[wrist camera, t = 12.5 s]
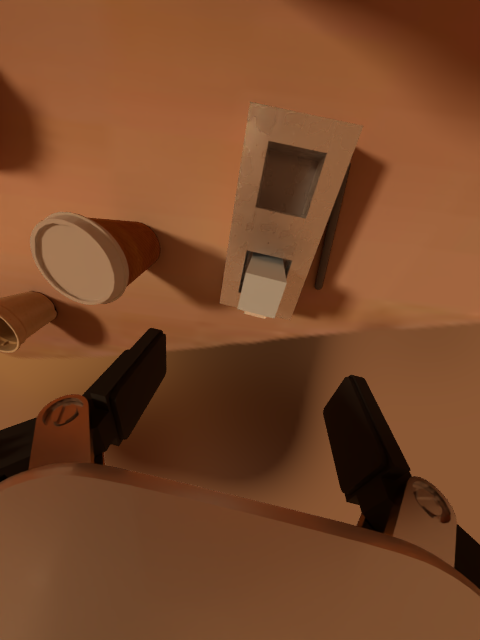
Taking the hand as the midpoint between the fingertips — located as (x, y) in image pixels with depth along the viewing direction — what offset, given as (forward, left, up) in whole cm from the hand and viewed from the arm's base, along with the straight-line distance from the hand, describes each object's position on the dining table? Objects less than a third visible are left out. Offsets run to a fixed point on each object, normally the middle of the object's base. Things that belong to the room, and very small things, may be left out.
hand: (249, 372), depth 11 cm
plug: (0, 0, -21) cm, 21 cm away
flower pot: (+17, -40, -22) cm, 49 cm away
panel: (-5, 0, -22) cm, 22 cm away
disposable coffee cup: (+1, -19, -22) cm, 29 cm away
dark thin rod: (-6, +7, -22) cm, 24 cm away
